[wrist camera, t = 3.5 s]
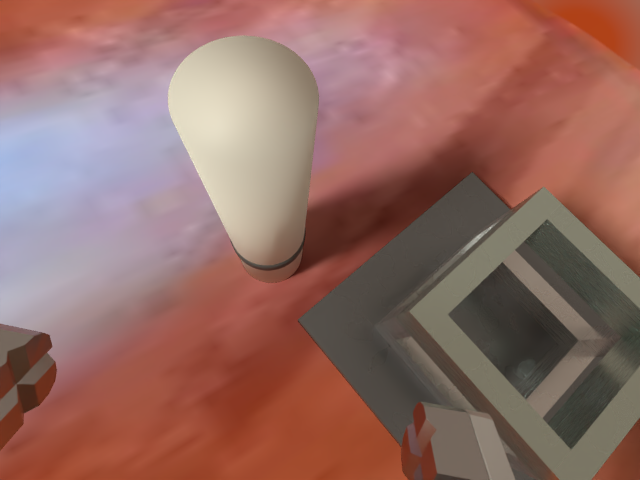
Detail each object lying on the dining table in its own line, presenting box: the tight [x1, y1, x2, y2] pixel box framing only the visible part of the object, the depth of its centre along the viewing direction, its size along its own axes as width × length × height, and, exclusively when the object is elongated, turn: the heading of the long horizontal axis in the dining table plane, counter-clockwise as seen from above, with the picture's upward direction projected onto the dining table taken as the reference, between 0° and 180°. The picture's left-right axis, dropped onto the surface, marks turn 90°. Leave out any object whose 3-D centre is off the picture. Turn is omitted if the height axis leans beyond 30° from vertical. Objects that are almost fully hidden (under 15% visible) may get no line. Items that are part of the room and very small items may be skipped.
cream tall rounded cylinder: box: [168, 36, 319, 283], centre depth 18 cm, size 4×4×16 cm
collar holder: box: [298, 172, 640, 480], centre depth 21 cm, size 16×16×8 cm
